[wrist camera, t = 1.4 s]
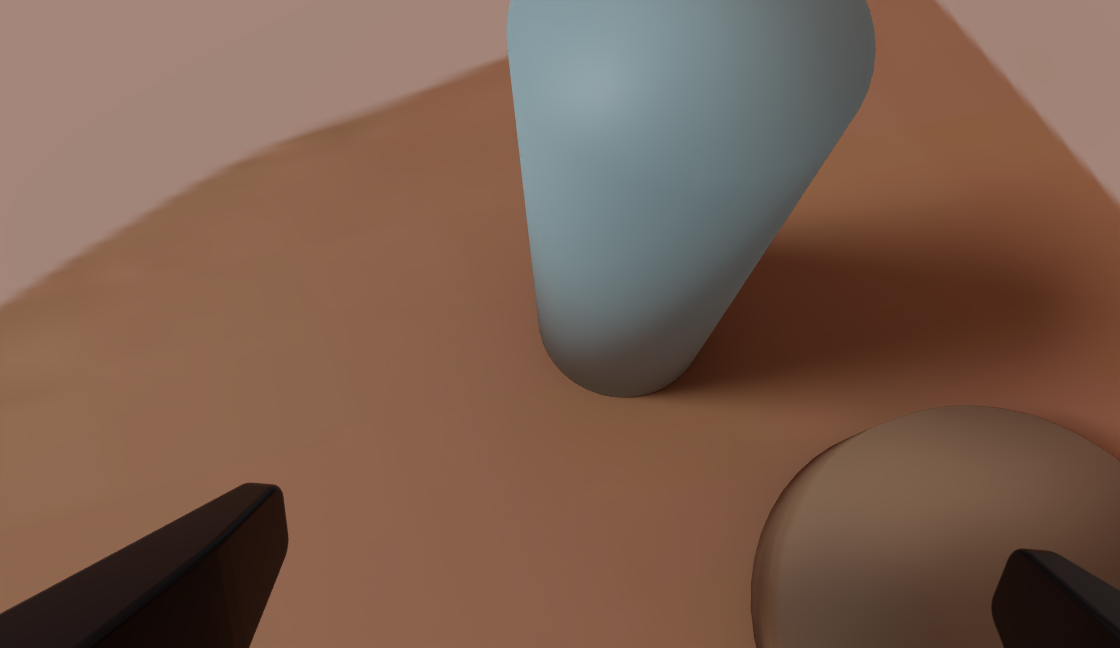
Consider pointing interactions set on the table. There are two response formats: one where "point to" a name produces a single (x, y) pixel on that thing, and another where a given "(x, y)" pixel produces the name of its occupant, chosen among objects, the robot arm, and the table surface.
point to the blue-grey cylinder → (668, 162)
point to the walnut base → (928, 529)
